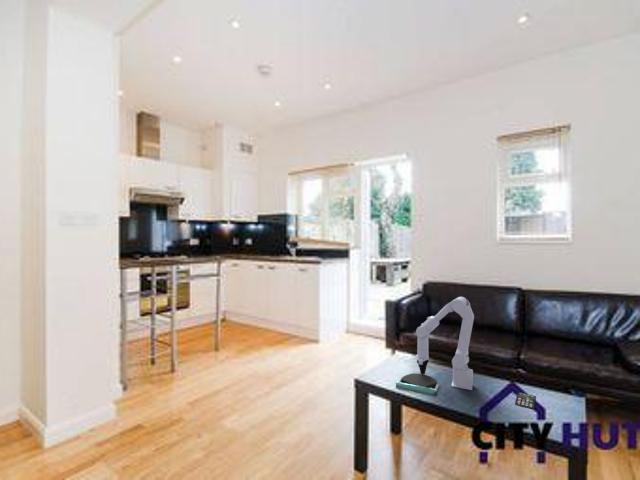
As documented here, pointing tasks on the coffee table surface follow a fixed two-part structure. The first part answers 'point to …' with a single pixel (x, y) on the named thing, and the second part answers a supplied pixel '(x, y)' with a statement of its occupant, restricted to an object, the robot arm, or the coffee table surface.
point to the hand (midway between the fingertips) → (422, 373)
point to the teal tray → (417, 387)
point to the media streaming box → (419, 380)
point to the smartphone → (525, 400)
